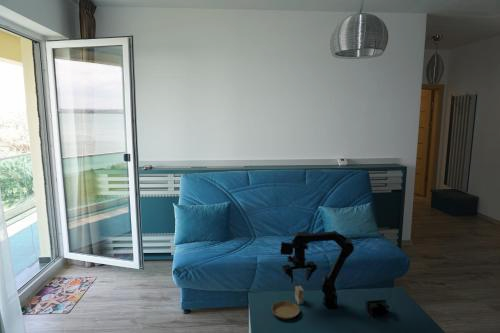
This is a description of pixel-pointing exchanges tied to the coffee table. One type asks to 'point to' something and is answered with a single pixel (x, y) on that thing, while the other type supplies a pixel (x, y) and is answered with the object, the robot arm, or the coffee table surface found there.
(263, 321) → the coffee table surface
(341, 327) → the coffee table surface
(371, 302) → the end cap
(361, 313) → the coffee table surface
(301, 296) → the taupe streaky block
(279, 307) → the plant saucer
